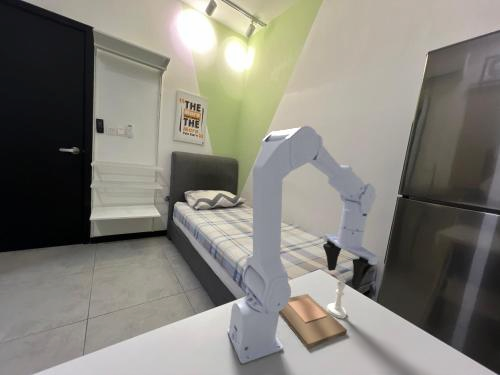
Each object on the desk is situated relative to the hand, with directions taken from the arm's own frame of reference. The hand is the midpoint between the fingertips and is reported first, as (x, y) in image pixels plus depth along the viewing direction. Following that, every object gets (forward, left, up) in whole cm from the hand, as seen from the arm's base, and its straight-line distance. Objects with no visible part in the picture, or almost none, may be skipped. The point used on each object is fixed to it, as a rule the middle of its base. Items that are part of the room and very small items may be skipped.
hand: (342, 277), depth 53 cm
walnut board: (-10, 0, -10) cm, 14 cm away
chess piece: (0, 0, -10) cm, 10 cm away
